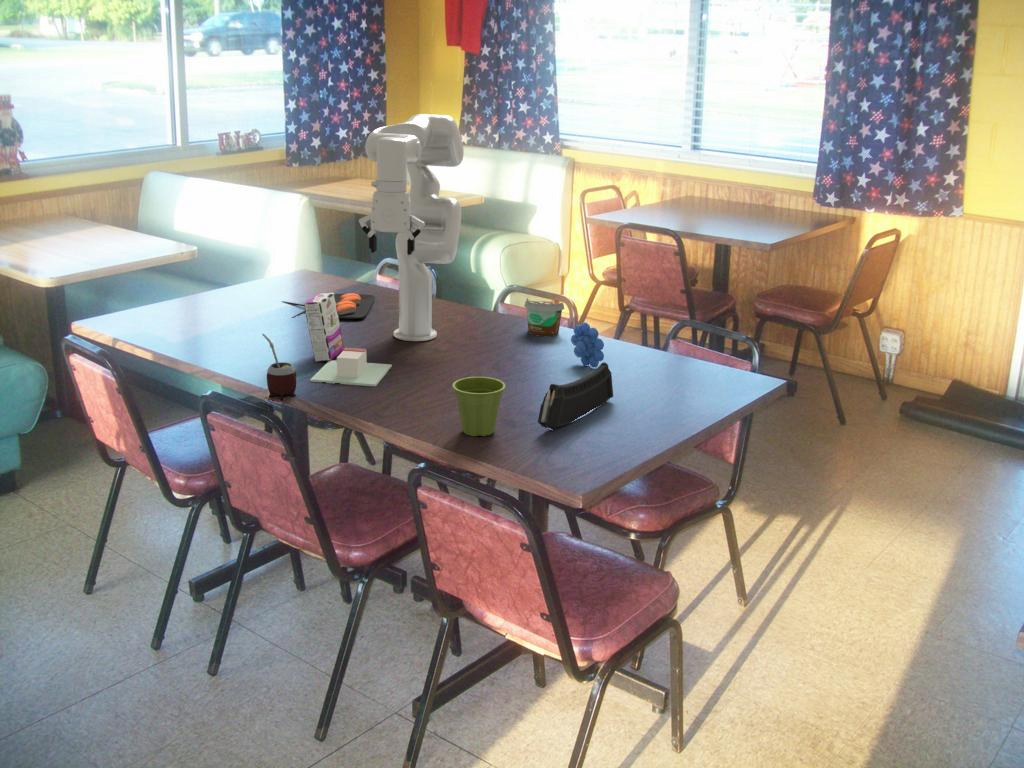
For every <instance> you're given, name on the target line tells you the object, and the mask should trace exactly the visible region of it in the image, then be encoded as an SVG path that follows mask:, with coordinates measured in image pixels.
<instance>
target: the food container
mask: <svg viewBox="0 0 1024 768" xmlns="http://www.w3.org/2000/svg"><path fill="white" fill-rule="evenodd" d="M523 306H524V308H525V309H526V317H527V332H529V333H528V334H530V335H532V334H533V336H535V335H538V336H537V337H544V336H546V337H554V336H553V335H555V336H558V335H559V332H560V325H561V319H562V311H563V310H565V304H564V301H561V302H559V303H552V302H549V301H543V300H542V301H541V300H540V301H536V300H535V301H533V300H529V298H528V297H526V299H525V301H524V305H523ZM557 334H558V335H557Z"/></svg>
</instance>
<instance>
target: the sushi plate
mask: <svg viewBox="0 0 1024 768" xmlns="http://www.w3.org/2000/svg"><path fill="white" fill-rule="evenodd" d="M334 295H335V301H336V307H337V312H338V317H339V320H340V319H341V320H355V319H356V320H357V319H364V318H365V317H366V316H367V314H368V313H369V311H370V309H371V307H372V305H373V303H374V302H375V299H376V295H374V294H362V293H353V292H350V293H334ZM281 302H282V303H284V304H288V305H291V306H292V305H293V306H299V307H304V304H302V303H296V302H290V301H284V300H282V301H281ZM303 313H304V314H306V311H305V310H303V311H301V312H299V313H298V314H296V315H294V316H292V317H291V319H295V318H296V316H297V317H299V316H301V314H302V315H304V314H303Z"/></svg>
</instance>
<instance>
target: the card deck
mask: <svg viewBox="0 0 1024 768" xmlns="http://www.w3.org/2000/svg"><path fill="white" fill-rule="evenodd" d="M336 361H337V376H344V377H357V378H358V377H359V376H360V375H361V374H362V372H363V371H364V370H365V369H366V368H367V363H368V362H367V349H366V348H359V347H344V350H343V351H341V352H340V353H339V354H338V355H337V356H336Z"/></svg>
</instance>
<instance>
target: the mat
mask: <svg viewBox="0 0 1024 768" xmlns="http://www.w3.org/2000/svg"><path fill="white" fill-rule="evenodd" d="M392 367H393V365H392V364H389V363H388V364H387V363H377V362H376V363H375V362H367V368H366V369H365V370H364V371H363V372H362V374H361V375H360V376H359V377H358V378H357V377H344V376H337V359H336V360H335V359H334V360H333V359H332V360H331V361H327V362H326V363H325V364H324V365H323V366H322V367H321V368H320V369H319V370H318V371H317V372H316V373H315V374H314V375H313V376H312V377H311V378H310V380H309V382H312V383H322V382H326V383H325V384H335V383H340V384H339V385H347V386H348V385H349V386H364V387H377V385H378V384H379V383H380V382H381V380H383V378H384V377H385V376H386V374H387V373H389V371H390V370H389V369H392Z"/></svg>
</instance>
